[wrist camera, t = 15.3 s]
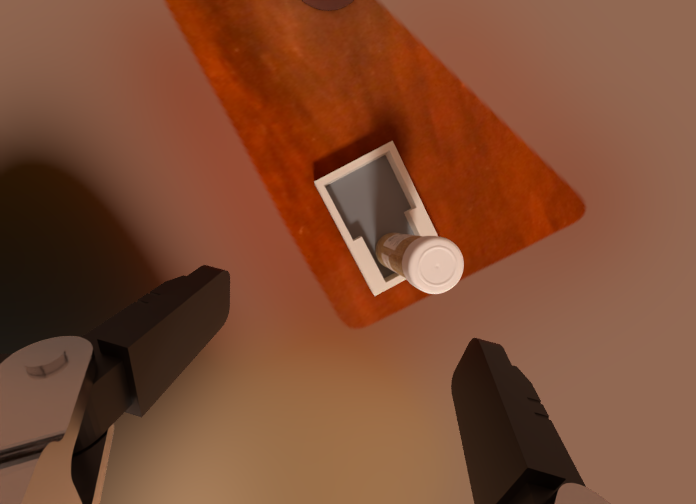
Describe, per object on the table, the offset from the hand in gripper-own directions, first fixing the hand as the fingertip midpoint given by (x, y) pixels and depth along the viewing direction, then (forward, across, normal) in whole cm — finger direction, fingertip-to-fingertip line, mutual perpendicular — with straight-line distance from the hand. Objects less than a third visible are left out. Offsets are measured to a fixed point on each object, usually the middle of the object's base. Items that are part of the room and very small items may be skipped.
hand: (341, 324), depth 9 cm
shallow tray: (+26, -1, +5) cm, 27 cm away
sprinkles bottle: (+25, -3, +8) cm, 26 cm away
